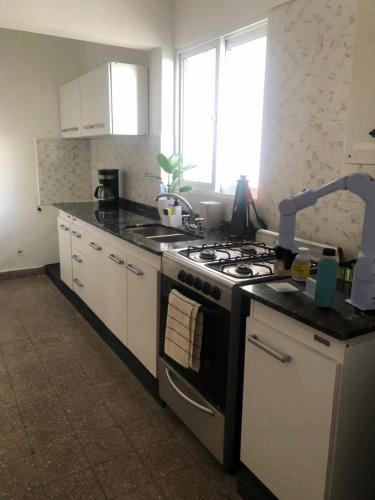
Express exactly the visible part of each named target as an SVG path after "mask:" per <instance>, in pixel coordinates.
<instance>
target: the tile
mask: <svg viewBox="0 0 375 500" xmlns="http://www.w3.org/2000/svg"><path fill="white" fill-rule="evenodd" d="M265 284H266V285H265V286H267V287H269V288H270V289H272V291H274V292H276V293H286V292H288V293H289V292H299V291H300V289H299V288H297V287H295V286H293V285H292V284H290V283H289V282H278V283H265Z"/></svg>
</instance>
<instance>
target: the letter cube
mask: <svg viewBox="0 0 375 500" xmlns="http://www.w3.org/2000/svg"><path fill="white" fill-rule="evenodd" d="M273 262H274V263H273V274H275V275H277V276H278V277H292V272H293V264H292V267H291V269H290V270H285V269H284V259H280V260H276V259H274V260H273Z"/></svg>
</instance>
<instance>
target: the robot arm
mask: <svg viewBox="0 0 375 500" xmlns="http://www.w3.org/2000/svg"><path fill="white" fill-rule="evenodd" d="M338 191H349V192H351V193H352V194H354V195H355V196H358V197H359V198H360V199H361V200H362V201H363V202H364V203H365V206H364V207H365V208H364V216H363V222H362V223H363V224H362V230H361V238H360V248H359V252H358V255H357V258H356V259H357V260H356V262H355V264H354V265H353V268H352V273H353V277H352V286H351V293H350V299H349V298H347V299H344V302H346V303H348V304H350V305H351V306H354V307H355V308H357V309H359V310H361V311H370V310H375V178H374V177H372V175H370V174H368V173H367V172H353V173H351V174H349V175H344V176H342V177H339V178H337V179H335V180H333V181H330V182H329V183H327V184H324V185H322V186H320V187H318V188H316V189H312V188H308V189H307V188H304V189H302V190H301V192H299V193H297V194H295V195H294V194H292V195H290V196H289V197H290V198H283V199H282V200H280V202H279V204H278V208H277V209H278V212H279V213H280V215H279V224H278V225H279V226H278V236H277V237H278V239H274V240H273V247H272V250H273V252H274V255H275V260H280V259H284V269H285V270H290V269H291V267H292V264H293V261H294V259H295V258H296V256H297V255H298V248H299V246H296V245H295V235H296V224H297V223H296V222H297V213H298V212H301V211H302V210H304V209H308V208H310V207H312V206H314V205H316V204H317V202H318V201H319V199H320V198H323V197H325V196H328V195H330V194H333V193H335V192H338Z"/></svg>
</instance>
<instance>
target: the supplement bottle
mask: <svg viewBox="0 0 375 500" xmlns="http://www.w3.org/2000/svg"><path fill="white" fill-rule="evenodd" d="M309 253H310V248H308V247H303V246H302V247H299V246H298V255H297V256H296V258H295V259H294V261H293V271H292V276H291V279H293V280H294V281H296V282H306V279H307V278H310V270H311V263H312V262H311V260H312V257H311V255H310V254H309Z"/></svg>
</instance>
